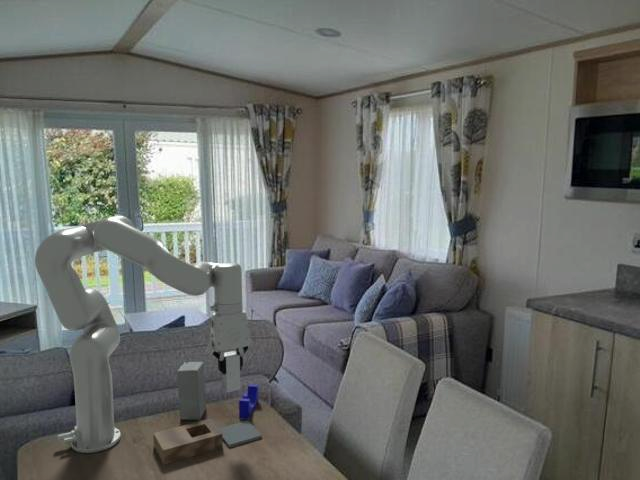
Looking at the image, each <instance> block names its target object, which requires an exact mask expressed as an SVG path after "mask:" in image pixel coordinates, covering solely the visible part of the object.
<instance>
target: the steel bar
mask: <svg viewBox="0 0 640 480" xmlns="http://www.w3.org/2000/svg"><path fill="white" fill-rule="evenodd" d="M224 360H225V363H226V374H222V373H221V388H222V389H223V390H224V391H225V392H226V393H231V392H235V391H239V390H242V389H241V387H242V386H241V371H240V355H239V354H238V353H237V351H235V350H230V351H228V352H227V351H225V354H224Z"/></svg>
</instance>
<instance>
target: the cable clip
mask: <svg viewBox="0 0 640 480" xmlns="http://www.w3.org/2000/svg"><path fill="white" fill-rule="evenodd" d="M257 402H258V403H259V384H250V383H249V384H248V386H247V392H244V393H243V395H242V398H240V399H239V400H238V419H240V418H243V419H242V420H249V419H250V418H249V416H250V415H251V416H252V414H253V412H254V410H255V409H256V406H257V405H256V404H258V403H257ZM251 413H252V414H251ZM251 416H250V417H251Z"/></svg>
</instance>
